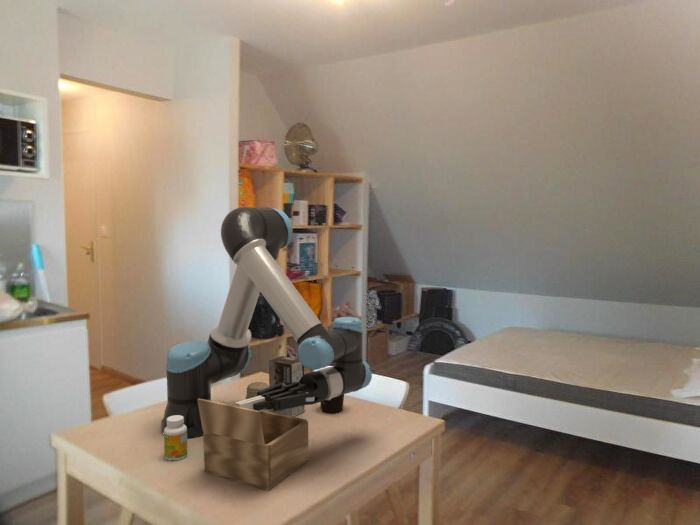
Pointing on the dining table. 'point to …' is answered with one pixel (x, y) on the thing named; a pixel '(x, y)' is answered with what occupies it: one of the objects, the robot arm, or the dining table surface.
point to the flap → (231, 421)
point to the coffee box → (286, 378)
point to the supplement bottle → (175, 438)
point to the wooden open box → (259, 452)
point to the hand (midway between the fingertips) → (237, 409)
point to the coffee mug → (333, 405)
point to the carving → (256, 390)
